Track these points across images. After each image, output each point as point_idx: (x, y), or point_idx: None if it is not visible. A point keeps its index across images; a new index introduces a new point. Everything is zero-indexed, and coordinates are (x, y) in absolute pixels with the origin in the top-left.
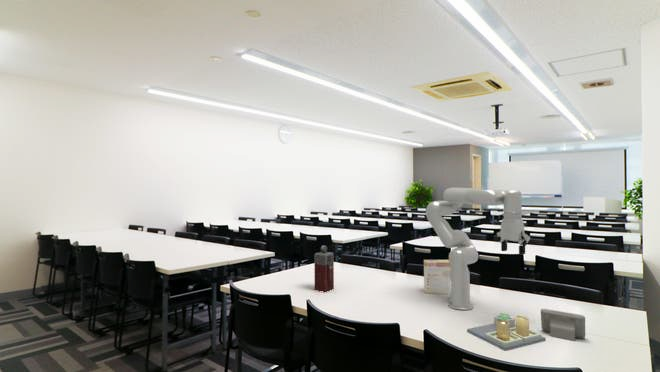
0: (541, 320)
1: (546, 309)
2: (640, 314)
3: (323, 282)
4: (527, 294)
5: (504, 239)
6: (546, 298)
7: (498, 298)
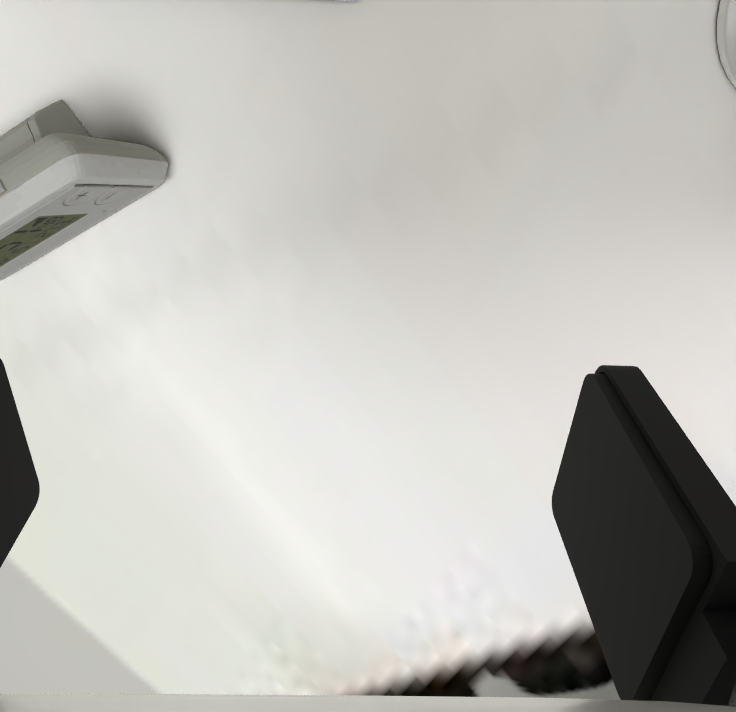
0: (121, 145)
1: (36, 173)
2: None
3: None
4: None
5: (611, 704)
6: (512, 609)
7: (695, 417)
